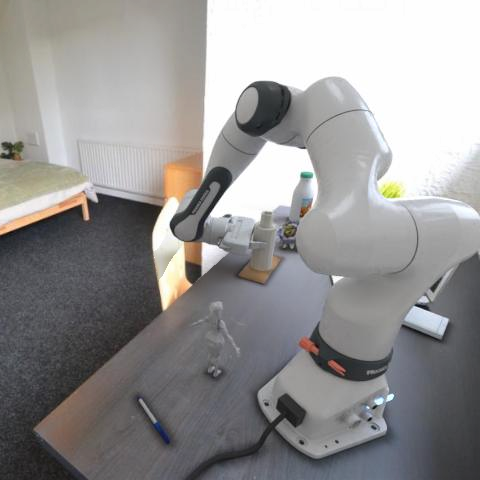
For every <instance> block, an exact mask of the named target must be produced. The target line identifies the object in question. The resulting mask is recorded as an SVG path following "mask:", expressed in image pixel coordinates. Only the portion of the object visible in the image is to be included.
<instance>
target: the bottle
mask: <svg viewBox="0 0 480 480" xmlns="http://www.w3.org/2000/svg"><path fill="white" fill-rule="evenodd" d="M274 216H275V213H274V212H272V211H269V210H263V211H261V213H260V220H259V221H257V222H255V228H254V232H253V236H252V241H254V242H260V241H266V248H265V249H262V248H258V249H251V253H250V260H251V261H250V260H249V262H250V266H251V268H253V269H254V270H257V271H268V270H270V269H271V266H272V259H273V255H274V252H275V246H276V238H277V235H276V233H277V231H278V225H277V224H276V223H275V222H274V218H275V217H274Z"/></svg>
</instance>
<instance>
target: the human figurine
mask: <svg viewBox="0 0 480 480" xmlns="http://www.w3.org/2000/svg"><path fill="white" fill-rule="evenodd" d="M223 310H224V304H223V302H221V301H220V300H219V301H212V302H210V304H209V305H208V309H207V311H208V314H207V316H205V317H204V318H203V319H198V321H195V322H193V323H192V324H190V325H189V328H192V327H193V326H195V325H201V324H203V323H206V322H208V328H209V330H208V331H207V332H206V333H205V337H204V339H205V343H206V349H207V352H208V355H207V364H208V368H207V373H208V374H209V373H210V374H212V373H213V377H215V378H216V377H218V376H219V374H221V373H222V370H220V369H219V364H220V359H221V354H222V351H223V349H224V346H225V343H226V340H225V338H224V336H223V334H224V335H225V336H226V339H227V341H228V342H229V344H230V345H231V346H232V347H233V349H234V351H235V353H236V358H241V357H242V353H241V352H240V351H241V348H240V347H238V346H237V345H236V343H235V340H234V338H233V337H232V336H231V335H230V334H229V331H228V329H227V327H226V322H225V321H224V320H223ZM222 333H223V334H222ZM212 359H213V361H212ZM212 363H213V366H212Z"/></svg>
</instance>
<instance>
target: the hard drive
mask: <svg viewBox="0 0 480 480" xmlns="http://www.w3.org/2000/svg"><path fill="white" fill-rule="evenodd" d="M449 322H450V319H449V318H447V317H444V316H442V315H439V314H436V313H434V312H431V311H429V310H426V309H424V308H421V307H418V306H416V305H414V306H413V308H412V309H411V310H410V311H409V313H408V314H407V316H406V318H405V319H404V321H403V323H402V325H403V326H405V327H408V328H411V329H413V330H416V331H418V332H421V333H423V334H424V335H425V334H426V335H428V336H430V337H433V338H435V339H438V340H442V338H443V336H444V334H445V331H446V329H447V326H448V324H449Z"/></svg>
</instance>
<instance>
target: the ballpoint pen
mask: <svg viewBox="0 0 480 480" xmlns="http://www.w3.org/2000/svg"><path fill="white" fill-rule="evenodd" d="M136 398H137V400H138V402H139V404H140V405H141V407H142V408H143V410H144V411H145V413H146V415H148V417H149V419H150V421H151V422H152V423H153V425H154V427H155V428H156V430H157V431H158V433H159V434H160V435H161V437H162V438H163V440H164V441H165V443H166V444H169V443H170V442H171V440H170V438H169V436H168V435H167V434H166V432H165V431H164V429H163V428H162V426H161V424H160V423H159V422H158V420H157V419H156V418H155V416H154V415H153V413H152V412H151V411H150V409H149V407H148V406H147V405H146V403H145V402H144V400H143V399H142V397H140V396H139V395H138V396H137V397H136Z"/></svg>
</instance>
